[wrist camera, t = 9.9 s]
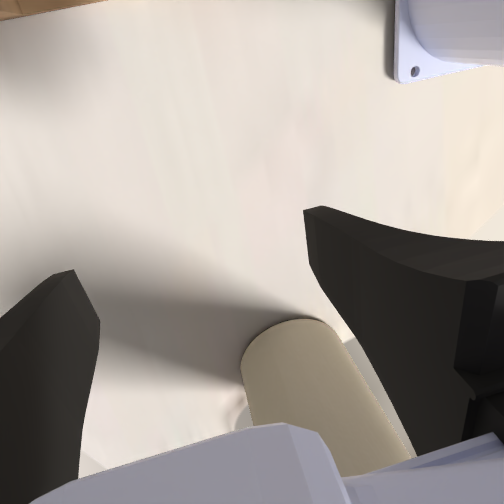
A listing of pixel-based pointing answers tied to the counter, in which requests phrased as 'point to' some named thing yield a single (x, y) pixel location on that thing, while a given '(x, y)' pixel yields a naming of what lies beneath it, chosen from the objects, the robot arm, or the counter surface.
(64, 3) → the slot block
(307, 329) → the travel mug
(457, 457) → the robot arm
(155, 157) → the counter surface
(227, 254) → the counter surface
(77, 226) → the counter surface
